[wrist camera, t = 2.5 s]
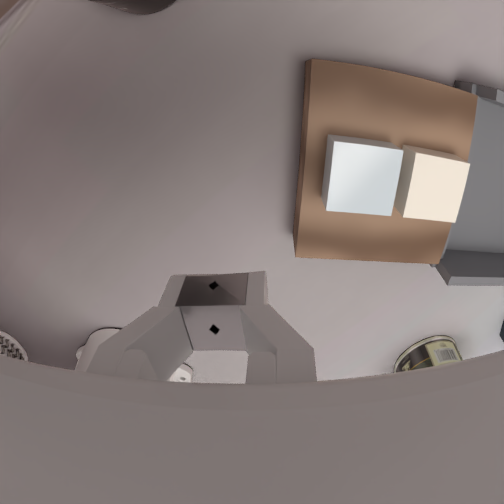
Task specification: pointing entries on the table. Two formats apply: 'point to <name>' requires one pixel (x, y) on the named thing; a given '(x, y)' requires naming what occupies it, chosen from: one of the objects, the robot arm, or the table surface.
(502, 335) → the watch
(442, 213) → the cream tile
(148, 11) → the supplement bottle
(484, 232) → the box
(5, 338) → the decorative candle
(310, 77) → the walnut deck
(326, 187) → the pale blue brick
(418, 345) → the coffee can
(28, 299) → the table surface
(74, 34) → the table surface
